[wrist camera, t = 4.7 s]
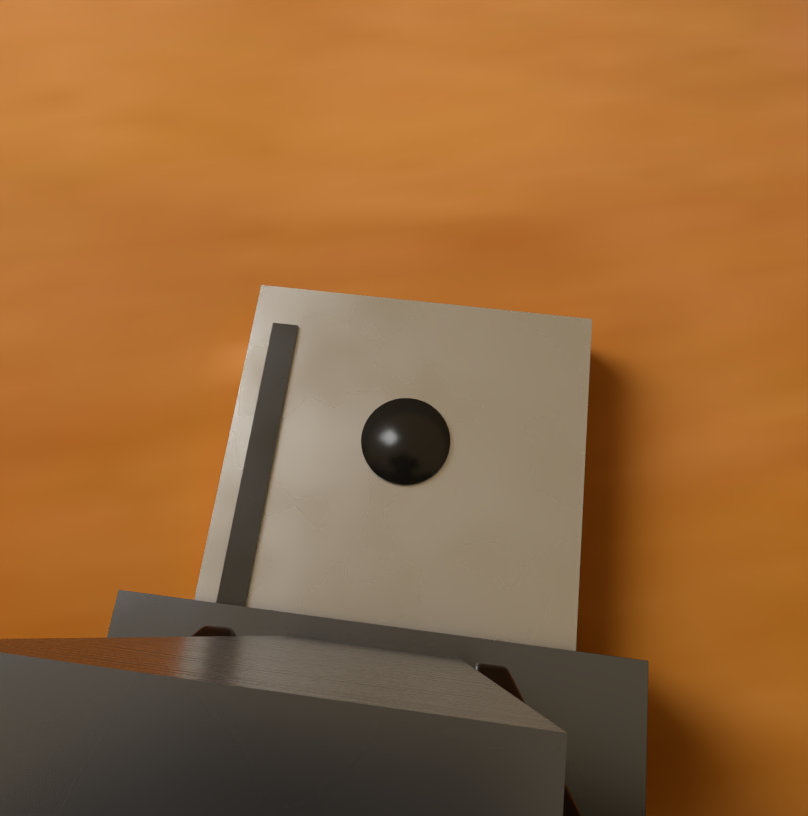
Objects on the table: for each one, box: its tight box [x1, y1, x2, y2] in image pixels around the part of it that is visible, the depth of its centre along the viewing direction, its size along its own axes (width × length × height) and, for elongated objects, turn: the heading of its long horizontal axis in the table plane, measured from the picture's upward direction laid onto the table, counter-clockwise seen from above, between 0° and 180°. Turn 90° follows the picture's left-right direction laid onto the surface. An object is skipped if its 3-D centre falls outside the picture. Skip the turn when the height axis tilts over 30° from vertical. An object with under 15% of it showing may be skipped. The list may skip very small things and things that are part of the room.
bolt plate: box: [194, 285, 592, 651], centre depth 13 cm, size 21×8×4 cm, turn 173°
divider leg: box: [0, 590, 648, 816], centre depth 9 cm, size 4×10×12 cm, turn 83°
